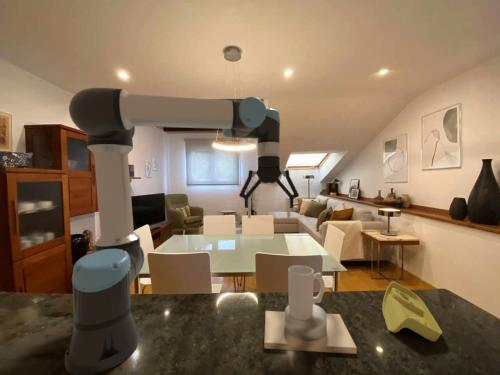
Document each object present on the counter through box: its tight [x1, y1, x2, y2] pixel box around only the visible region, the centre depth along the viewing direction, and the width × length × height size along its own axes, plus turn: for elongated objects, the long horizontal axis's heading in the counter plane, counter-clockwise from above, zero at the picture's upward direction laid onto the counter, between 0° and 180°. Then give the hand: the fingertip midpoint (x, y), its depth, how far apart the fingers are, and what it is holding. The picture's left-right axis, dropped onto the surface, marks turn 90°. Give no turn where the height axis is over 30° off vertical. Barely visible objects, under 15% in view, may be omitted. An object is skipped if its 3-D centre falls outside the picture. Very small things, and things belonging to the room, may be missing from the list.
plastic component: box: [381, 281, 443, 342], centre depth 69 cm, size 20×7×10 cm
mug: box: [287, 264, 326, 320], centre depth 63 cm, size 10×7×12 cm, turn 95°
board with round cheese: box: [263, 303, 358, 355], centre depth 63 cm, size 22×14×6 cm, turn 85°
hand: (268, 217), depth 80 cm, fingers open, 13 cm apart
